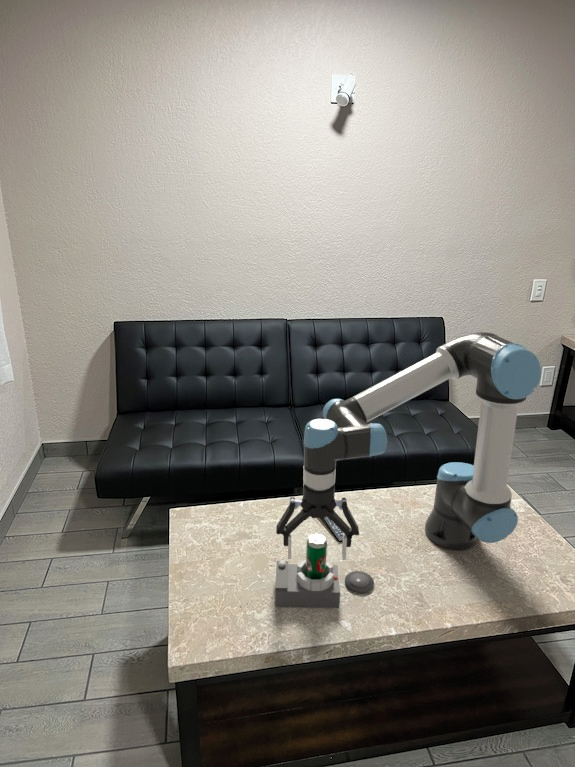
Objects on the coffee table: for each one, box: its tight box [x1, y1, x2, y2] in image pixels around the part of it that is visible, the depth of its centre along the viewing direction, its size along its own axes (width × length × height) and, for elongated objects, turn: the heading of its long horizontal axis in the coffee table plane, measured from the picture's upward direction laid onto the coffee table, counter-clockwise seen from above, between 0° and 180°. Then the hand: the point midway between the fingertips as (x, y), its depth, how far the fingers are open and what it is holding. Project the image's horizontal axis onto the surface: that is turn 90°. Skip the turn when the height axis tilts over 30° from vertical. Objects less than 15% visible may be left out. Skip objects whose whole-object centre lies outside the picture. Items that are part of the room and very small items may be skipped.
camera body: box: [274, 558, 341, 609], centre depth 137 cm, size 16×10×8 cm, turn 89°
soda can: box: [305, 533, 328, 580], centre depth 135 cm, size 5×5×12 cm
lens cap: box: [344, 570, 375, 595], centre depth 142 cm, size 8×8×1 cm
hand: (316, 556), depth 134 cm, fingers open, 13 cm apart
